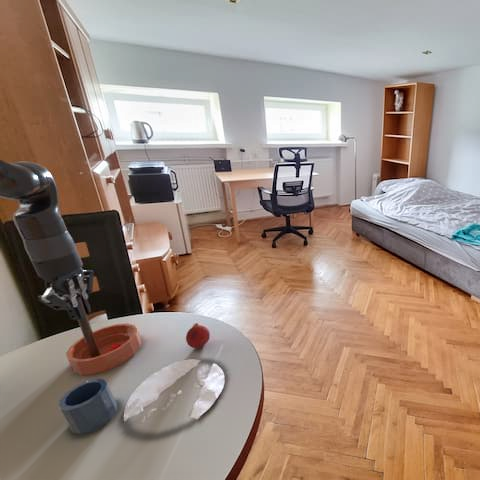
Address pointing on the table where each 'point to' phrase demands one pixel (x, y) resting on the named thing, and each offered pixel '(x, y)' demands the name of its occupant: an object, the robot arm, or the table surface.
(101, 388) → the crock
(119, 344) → the tomato
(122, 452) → the table surface
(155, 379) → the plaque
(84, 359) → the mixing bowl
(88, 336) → the stick
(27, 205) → the robot arm
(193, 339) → the onion
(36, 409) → the table surface
